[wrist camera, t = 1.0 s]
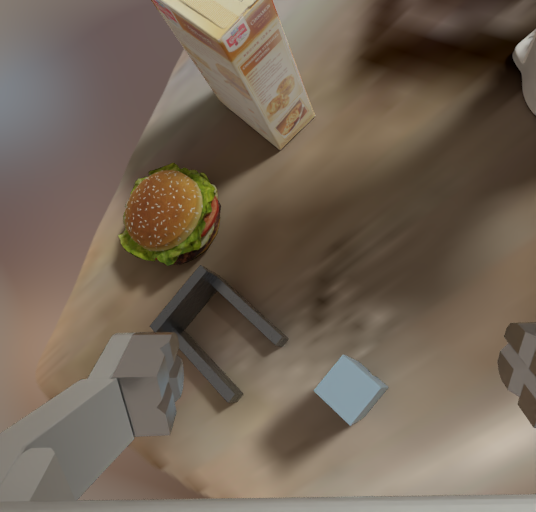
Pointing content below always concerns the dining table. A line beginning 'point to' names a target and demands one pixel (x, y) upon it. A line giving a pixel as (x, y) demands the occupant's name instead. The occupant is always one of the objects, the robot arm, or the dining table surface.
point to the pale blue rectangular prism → (350, 389)
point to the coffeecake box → (244, 61)
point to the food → (171, 215)
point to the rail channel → (190, 305)
